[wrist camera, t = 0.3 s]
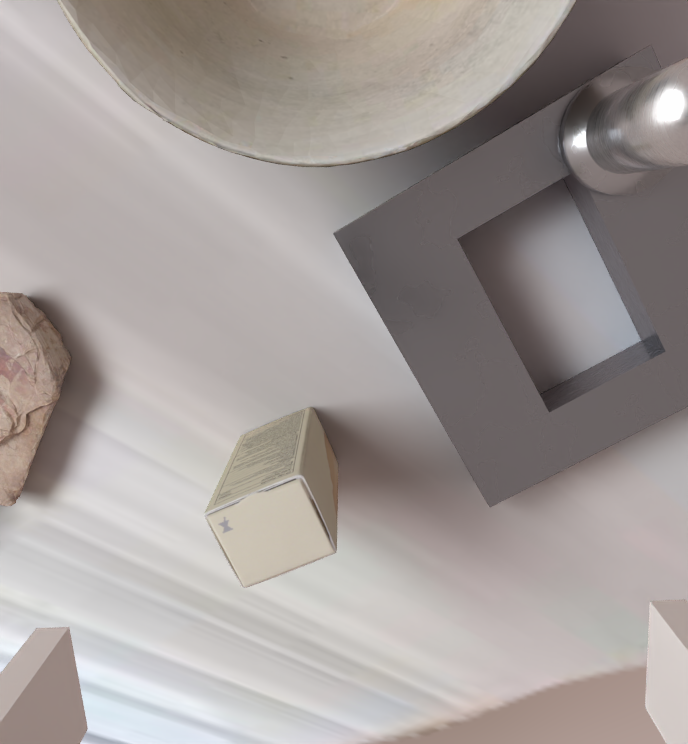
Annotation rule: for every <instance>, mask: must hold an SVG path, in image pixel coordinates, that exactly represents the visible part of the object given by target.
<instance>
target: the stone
mask: <svg viewBox="0 0 688 744" xmlns="http://www.w3.org/2000/svg"><path fill="white" fill-rule="evenodd" d="M61 339H62V337H61V335H60V333H59V332H58V331H57V329H55V328H54V327H53V324H52V323H51V322H50V321H49V319H47V318H46V315H45V313H43V312H42V311H41V310H40V309H38V308H36V307H35V305H34V303H32V302H31V301H29V299H28V298H27V296H26V295H23V294H22V293H9V292H0V505H4V506H12V505H13V504H15V503H16V500H17V499H18V497H20V494H21V492H22V489H23V486H24V483H25V480H26V478H27V476H28V473H29V469H30V467H31V464H32V462H33V459H34V456H35V454H36V451H37V448H38V445H39V442H40V440H41V438H42V436H43V434H44V432H45V429H46V427H47V424H48V422H49V419H50V417H51V413H52V411H53V409H54V407H55V405H56V403H57V400H58V399H59V396H60V393H61V385H62V384H63V381H64V377H65V374H66V372H67V370H68V367H69V365H70V361H71V356H70V355H69V352H68V350H67V349H66V348H65V347H64V346H63V341H62V340H61Z"/></svg>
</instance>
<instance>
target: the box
mask: <svg viewBox="0 0 688 744" xmlns="http://www.w3.org/2000/svg"><path fill="white" fill-rule="evenodd" d="M337 510H338V462H337V460H336V457H335V455H334V452H333V450H332V448H331V445H330V443H329V441H328V438H327V436H326V434H325V432H324V429H323V427H322V425H321V423H320V421H319V419H318V417H317V414H316V412H315V410H314V409H313V408H312V407H309V408H306V409H303V410H301V411H298V412H295V413H293V414H290V415H288V416H285V417H283V418H281V419H278V420H276V421H274V422H271V423H269V424H266V425H264V426H262V427H259V428H257V429H255V430H253V431H251V432H248V433H246V434H244V435H242V436H241V437H240V438H239V440H238V443H237V445H236V447H235V449H234V451H233V453H232V455H231V458H230V460H229V462H228V464H227V466H226V468H225V470H224V472H223V475H222V477H221V479H220V481H219V483H218V485H217V487H216V489H215V492H214V494H213V496H212V498H211V500H210V502H209V504H208V506H207V509H206V511H205V513H204V517H205V519H206V521H207V523H208V525H209V527H210V529H211V531H212V533H213V535H214V537H215V539H216V541H217V543H218V545H219V546H220V548H221V550H222V552H223V554H224V556H225V558H226V560H227V561H228V563H229V565H230V567H231V569H232V570H233V572H234V574H235V576H236V577H237V579H238V581H239V583H240V585H241V586H242V587H243V588H246V587H250V586H252V585H255V584H258V583H261V582H263V581H266V580H269V579H271V578H274V577H277V576H279V575H282V574H285V573H287V572H290V571H292V570H295V569H297V568H300V567H302V566H305V565H307V564H310V563H312V562H315V561H317V560H320V559H322V558H324V557H327V556H329V555H332V554H334V553H336V551H337Z"/></svg>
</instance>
